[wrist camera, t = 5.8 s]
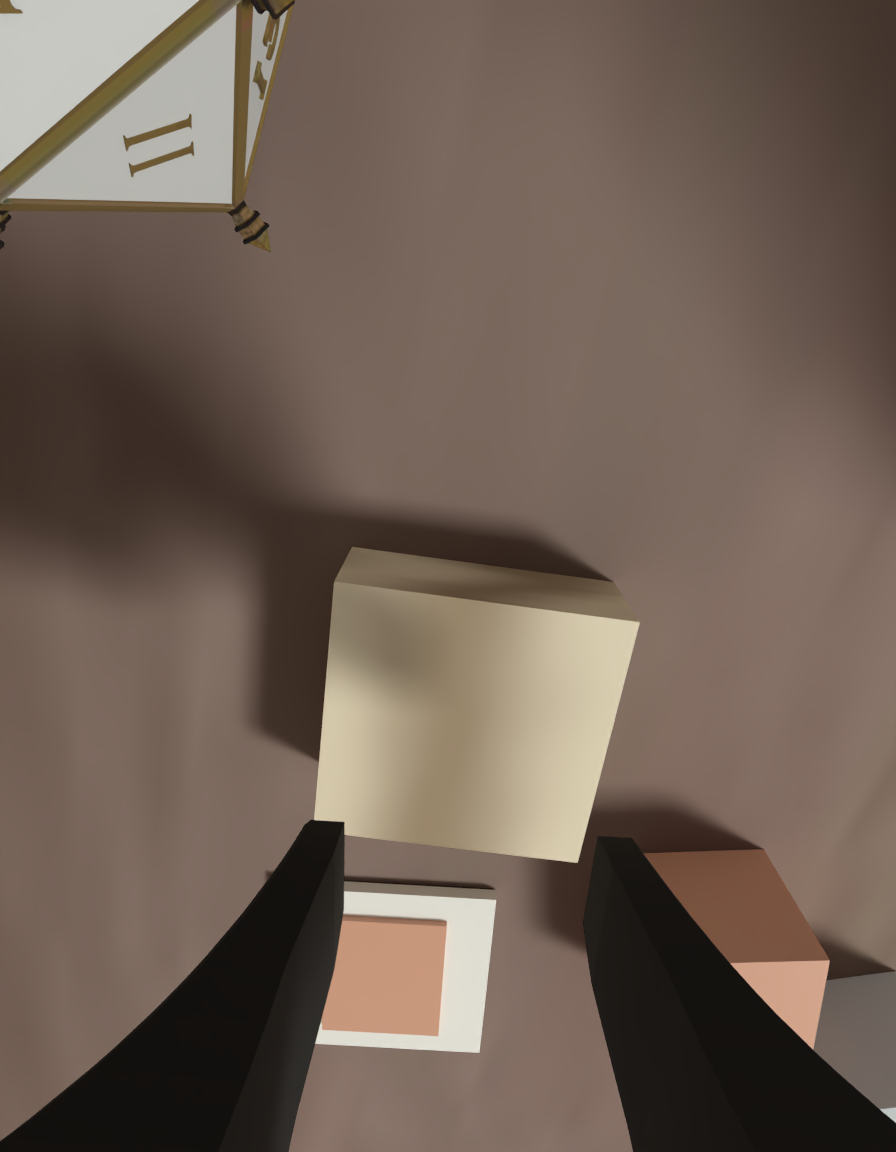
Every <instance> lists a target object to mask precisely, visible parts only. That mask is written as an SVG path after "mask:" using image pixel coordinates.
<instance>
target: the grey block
mask: <svg viewBox="0 0 896 1152" xmlns="http://www.w3.org/2000/svg"><path fill="white" fill-rule="evenodd" d="M813 1050H814V1051H815V1052H816V1053H817V1054H818V1055H819V1056H820V1057H821V1058H823V1059H824V1060H825V1061H826V1062H827V1063H828V1064H829V1065H830V1066H831V1067H832V1068H833V1069H834V1070H836V1071H837V1072H838V1073H839V1074H840V1075H841V1076H842V1077H843V1078H845V1079H846V1080H847V1081H848V1082H849V1083H850V1084H851V1085H853V1086H854V1087H855V1088H856V1089H857V1090H858V1091H859V1092H861V1093H862V1094H863V1095H864V1096H865V1097H866V1098H867V1099H869V1100H870V1101H871V1102H872V1103H873V1104H874V1105H875V1106H877V1107H878V1108H879V1109H880V1110H881V1111H882V1112H883V1113H885V1114H886V1115H887V1116H888V1117H890V1118H891V1119H892V1120H893V1121H894V1122H896V971H892V972H885V973H877V974H870V975H862V976H855V977H847V978H840V979H833V980H826V984H825V990H824V995H823V1000H822V1006H821V1011H820V1016H819V1022H818V1027H817V1032H816V1038H815V1043H814V1048H813Z"/></svg>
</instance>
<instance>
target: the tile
mask: <svg viewBox="0 0 896 1152" xmlns="http://www.w3.org/2000/svg"><path fill="white" fill-rule="evenodd" d="M495 906H496V890H488V889H470V888H453V887H435V886H418V885H400V884H383V883H366V882H348V881H344V912H343V918H342V925H341V931H340V938H339V944H338V950H337V956H336V962H335V969H334V973H333V977H332V980H331V984H330V988H329V992H328V996H327V1000H326V1004H325V1008H324V1011H323V1015H322V1019H321V1023H320V1027H319V1031H318V1034H317V1038H316V1042H315V1044H331V1045H349V1046H367V1047H385V1048H403V1049H421V1050H439V1051H457V1052H475V1053H479V1052H480V1043H481V1033H482V1024H483V1015H484V1006H485V997H486V988H487V979H488V970H489V961H490V952H491V943H492V934H493V925H494V915H495Z"/></svg>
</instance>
